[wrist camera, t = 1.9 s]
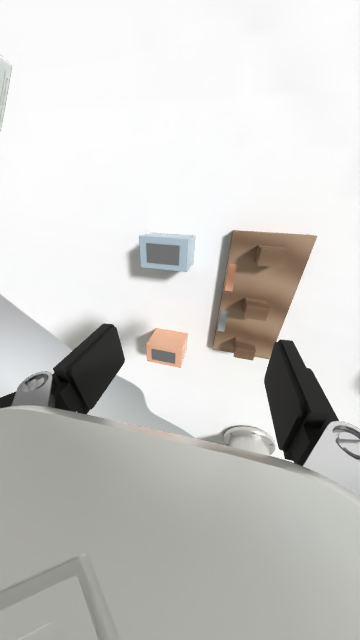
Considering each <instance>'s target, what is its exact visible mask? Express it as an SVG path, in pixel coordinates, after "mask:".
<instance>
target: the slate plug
mask: <svg viewBox="0 0 360 640" xmlns="http://www.w3.org/2000/svg"><path fill="white" fill-rule="evenodd" d="M139 245H140V260H141V267H144V268H153V269H163V270H172V271H182V272H187V271H188V269H189V268H190V267H191V266H192V264H193V261H194V248H195V236H193V235H179V234H164V233H150V234H145V235H140V236H139Z"/></svg>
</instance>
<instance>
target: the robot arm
mask: <svg viewBox="0 0 360 640" xmlns="http://www.w3.org/2000/svg"><path fill="white" fill-rule="evenodd" d="M124 361H125V358H124V354H123V351H122V347H121V343H120V339H119V336H118V332H117V329H116V327H114V325H112V324H102V325H101V326H100V327H99V328H98V329H97V330H96V331H95V332H93V333H92V334H91V335H90V336H89V337H88V338H87V339H86V340H84V341H83V342H82V343H81V344H80V345H79V346H78V347H77V348H75V349H74V350H73V351H72V352H71V353H70V354H69V355H68V356H67V357H65V358H64V359H63V360H62V361H61V362H60V363H59V364H58V365H56V366H55V367H54V368H53V370H54V372H55V373H54V374H51V373H50V372H47V371H45V372H39V373H36V374H33V375H31V376H30V377H28V378H26V379H25V380H24V381H23V382H22V383H21V384H20V385H19V387H18V388H17V391H16V392H14V393H11V394H9V395H6V396H4V397H1V398H0V640H360V429H359V428H358V427H356V426H354V425H352V424H349V423H346V422H342V421H339V420H338V418H337V416H336V414H335V412H334V411H333V409H332V407H331V405H330V403H329V401H328V399H327V398H326V396H325V394H324V392H323V390H322V388H321V386H320V384H319V383H318V381H317V379H316V377H315V375H314V373H313V372H312V370H311V369H309V368H306V366H305V364H304V362H303V360H302V358H301V356H300V354H299V352H298V351H297V349H296V347H295V345H294V343H293V341H289V340H279V341H278V342H275V343H274V346H273V350H272V353H271V357H270V360H269V364H268V367H267V371H266V375H265V379H264V383H265V388H266V392H267V397H268V402H269V406H270V411H271V415H272V420H273V425H274V429H275V434H276V438H277V443H278V447H279V449H280V450H283V452H284V456H285V459H288V460H292V461H294V463H292V462H289V461H285V460H282V459H279V458H275V457H272V456H270V455H271V454H272V453H273V452H274V450H275V444H274V441H273V439H272V437H271V436H270V435H268V434H267V433H266V432H264V431H262V430H259V429H257V428H253V427H247V426H238V427H233V428H230V429H228V430H227V431H226V432H225V433H224V435H223V442H224V444H225V445H222V444H218V443H213V442H209V441H204V440H200V439H195V438H191V437H187V436H182V435H178V434H173V433H169V432H164V431H159V430H155V429H151V428H146V427H141V426H136V425H132V424H127V423H123V422H118V421H114V420H109V419H104V418H100V417H95V416H90V415H86V414H87V413H88V412H89V410H90V409H92V408H93V407H94V406H95V404H96V403H97V401H98V400H99V399H100V397H101V396H102V394H103V393H104V391H105V390H106V389H107V387H108V385H109V384H110V383H111V381H112V380H113V378H114V377H115V375H116V374H117V373H118V371H119V370H120V368H121V367H122V365H123V364H124ZM76 411H77V412H76Z"/></svg>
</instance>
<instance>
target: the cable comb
mask: <svg viewBox="0 0 360 640" xmlns="http://www.w3.org/2000/svg"><path fill="white" fill-rule="evenodd" d="M316 238H317V236H314V235H302V234H285V233H269V232H252V231H236V230H233V234H232V240H231V246H230V252H229V258H228V263H227V269H226V275H225V281H224V286H223V292H222V298H221V304H220V310H219V315H218V321H217V327H216V333H215V338H214V344H213V349H215V350H221V351H226V352H232V353H234V357H237V358H242V359H248V360H253V358H254V357H260V358H265V359H269V358H270V356H271V353H272V350H273V346H274V343H275V342H276V340H277V338H278V335H279V333H280V330H281V328H282V325H283V322H284V320H285V317H286V315H287V312H288V310H289V307H290V305H291V302H292V299H293V297H294V294H295V292H296V289H297V287H298V284H299V282H300V279H301V276H302V274H303V271H304V269H305V266H306V264H307V261H308V259H309V256H310V253H311V251H312V248H313V246H314V243H315V241H316Z"/></svg>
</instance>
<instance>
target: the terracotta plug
mask: <svg viewBox="0 0 360 640" xmlns="http://www.w3.org/2000/svg"><path fill="white" fill-rule="evenodd" d="M187 337H188V333H182V332H176V331H170V330H164V329H158V328H156V330H155V331H154V333H153V334H152V336H151V337H150V339H149V340H148V342H147V343H146V351H147V361H150V362H155V363H160V364H165V365H170V366H175V367H179V368H181V365H182V362H183V359H184V356H185V352H186V349H187Z"/></svg>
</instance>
